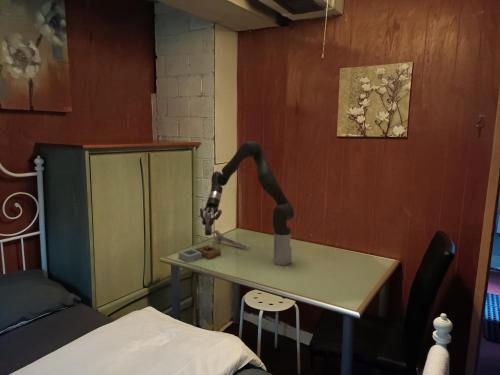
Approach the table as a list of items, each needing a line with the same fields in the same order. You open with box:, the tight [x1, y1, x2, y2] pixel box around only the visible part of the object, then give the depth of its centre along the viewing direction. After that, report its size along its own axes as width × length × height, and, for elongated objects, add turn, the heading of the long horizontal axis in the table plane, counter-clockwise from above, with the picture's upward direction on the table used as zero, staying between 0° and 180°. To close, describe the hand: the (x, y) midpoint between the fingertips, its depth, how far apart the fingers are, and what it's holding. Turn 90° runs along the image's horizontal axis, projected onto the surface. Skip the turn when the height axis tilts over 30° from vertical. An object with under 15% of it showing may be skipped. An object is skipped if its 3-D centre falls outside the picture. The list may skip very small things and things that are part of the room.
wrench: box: [212, 229, 251, 251], centre depth 235 cm, size 8×2×30 cm
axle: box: [204, 212, 213, 236], centre depth 215 cm, size 4×4×13 cm
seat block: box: [178, 248, 203, 263], centre depth 211 cm, size 10×10×4 cm
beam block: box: [195, 244, 222, 260], centre depth 217 cm, size 12×9×4 cm
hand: (207, 224), depth 213 cm, fingers closed on axle, 4 cm apart
